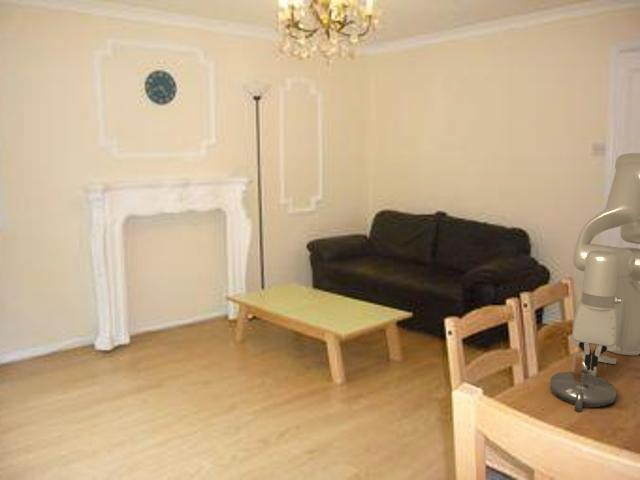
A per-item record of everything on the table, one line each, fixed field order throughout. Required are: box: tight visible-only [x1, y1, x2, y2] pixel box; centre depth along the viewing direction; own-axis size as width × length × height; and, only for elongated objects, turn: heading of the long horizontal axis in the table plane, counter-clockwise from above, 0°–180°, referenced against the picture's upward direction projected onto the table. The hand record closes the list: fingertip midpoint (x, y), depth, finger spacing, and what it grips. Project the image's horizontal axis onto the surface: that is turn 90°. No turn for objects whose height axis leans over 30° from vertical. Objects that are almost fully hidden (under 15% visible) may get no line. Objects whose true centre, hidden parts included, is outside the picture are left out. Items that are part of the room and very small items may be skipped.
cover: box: [571, 351, 598, 377], centre depth 158 cm, size 6×6×6 cm
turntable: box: [549, 353, 617, 406], centre depth 146 cm, size 15×15×7 cm
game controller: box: [598, 354, 617, 370], centre depth 167 cm, size 6×12×3 cm, turn 171°
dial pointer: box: [574, 390, 584, 413], centre depth 140 cm, size 3×2×4 cm, turn 152°
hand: (590, 368), depth 151 cm, fingers closed
